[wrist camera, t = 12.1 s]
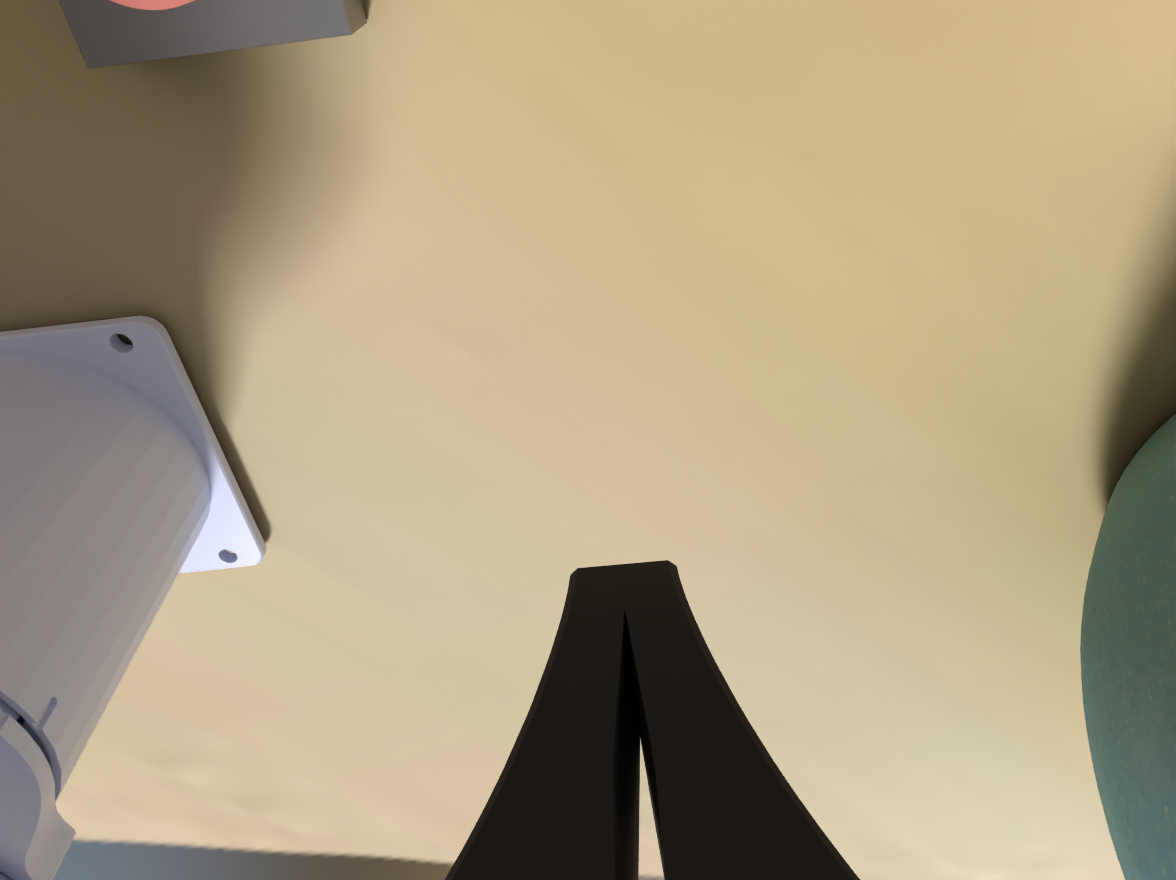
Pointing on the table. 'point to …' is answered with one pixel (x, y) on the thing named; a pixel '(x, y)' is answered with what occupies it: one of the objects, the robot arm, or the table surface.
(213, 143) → the table surface
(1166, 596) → the teal bowl
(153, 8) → the button
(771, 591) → the table surface
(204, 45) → the button base
